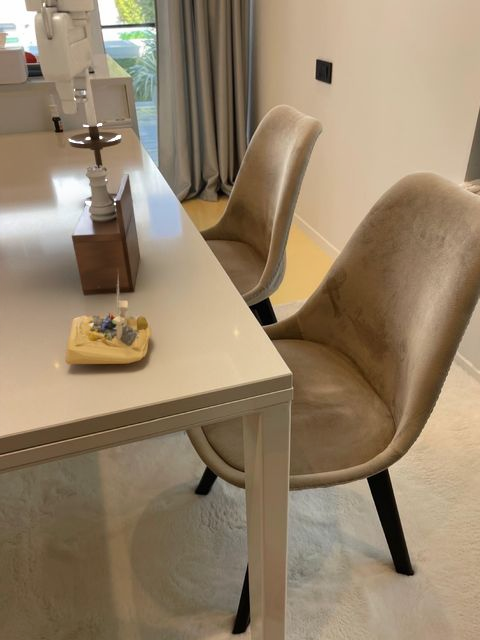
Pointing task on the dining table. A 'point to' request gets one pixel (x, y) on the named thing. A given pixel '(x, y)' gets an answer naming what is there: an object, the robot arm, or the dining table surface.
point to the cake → (108, 338)
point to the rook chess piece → (100, 196)
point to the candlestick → (94, 136)
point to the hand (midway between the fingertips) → (76, 107)
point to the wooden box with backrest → (108, 247)
